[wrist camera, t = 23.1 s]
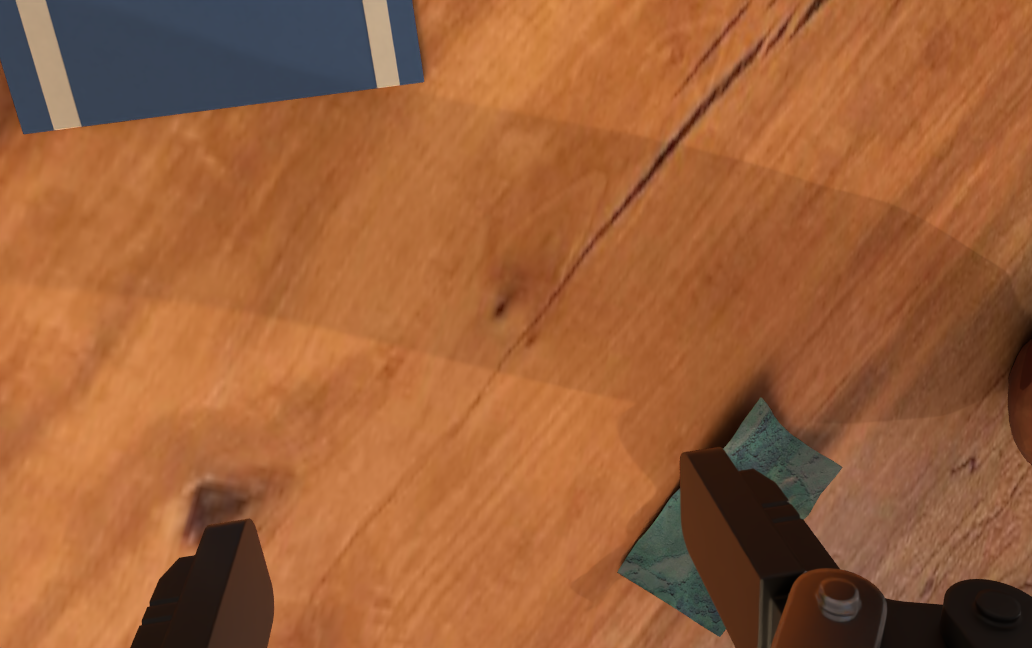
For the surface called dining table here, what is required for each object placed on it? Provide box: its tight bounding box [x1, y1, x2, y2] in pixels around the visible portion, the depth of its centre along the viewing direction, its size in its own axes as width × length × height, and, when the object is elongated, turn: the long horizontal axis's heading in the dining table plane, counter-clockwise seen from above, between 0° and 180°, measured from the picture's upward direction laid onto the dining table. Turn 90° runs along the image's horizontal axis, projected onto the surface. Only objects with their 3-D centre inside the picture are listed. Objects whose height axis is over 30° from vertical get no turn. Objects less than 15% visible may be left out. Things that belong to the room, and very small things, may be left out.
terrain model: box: [617, 397, 842, 637], centre depth 46 cm, size 13×8×2 cm, turn 141°
